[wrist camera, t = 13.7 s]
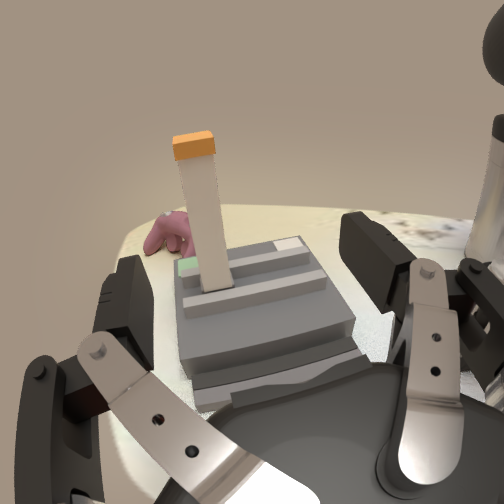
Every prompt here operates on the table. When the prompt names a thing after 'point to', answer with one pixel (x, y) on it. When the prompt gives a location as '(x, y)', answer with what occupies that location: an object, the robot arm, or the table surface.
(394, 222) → the table surface
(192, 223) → the breaker lever
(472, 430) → the robot arm
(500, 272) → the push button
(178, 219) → the video game controller
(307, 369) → the grey long flat bar
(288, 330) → the breaker panel
